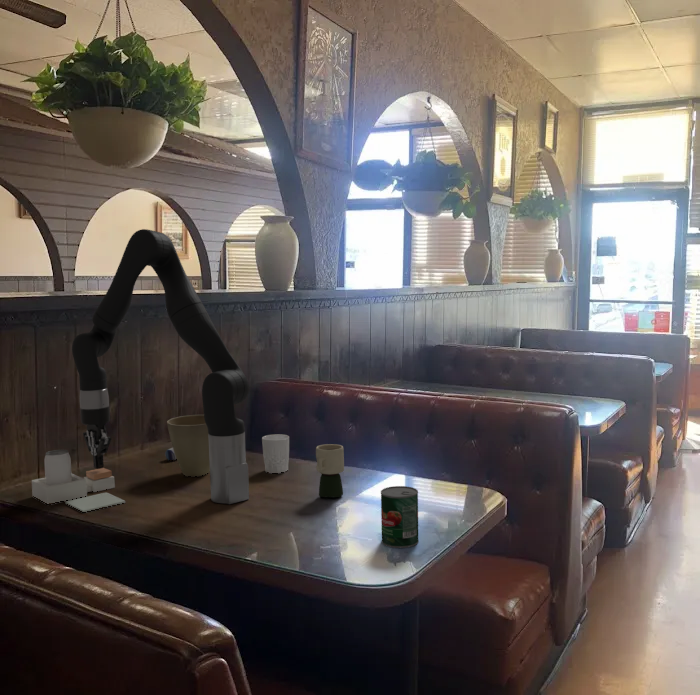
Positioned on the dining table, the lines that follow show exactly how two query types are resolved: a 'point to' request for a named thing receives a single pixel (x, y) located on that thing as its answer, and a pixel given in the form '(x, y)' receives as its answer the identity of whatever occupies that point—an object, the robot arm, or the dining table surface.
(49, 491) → the white piece
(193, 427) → the plant pot
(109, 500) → the pad
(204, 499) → the dining table surface
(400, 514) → the canned tomato
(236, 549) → the dining table surface
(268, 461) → the white cup
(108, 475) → the light brown square block
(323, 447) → the character mug
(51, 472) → the can
